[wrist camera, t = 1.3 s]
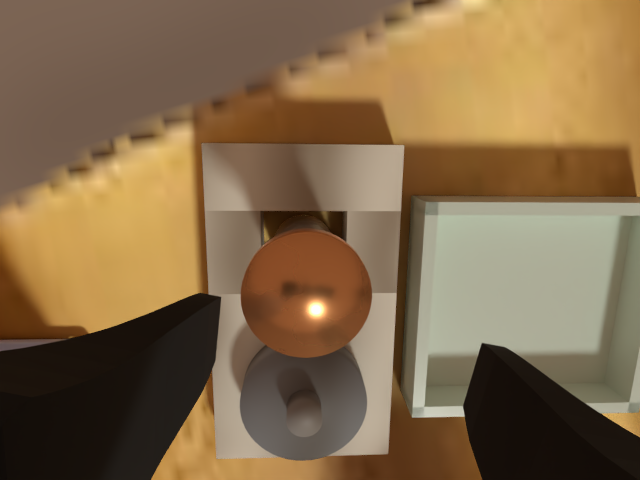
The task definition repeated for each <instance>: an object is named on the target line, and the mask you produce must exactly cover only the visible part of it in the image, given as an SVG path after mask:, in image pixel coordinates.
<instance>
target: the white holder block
mask: <svg viewBox="0 0 640 480" xmlns="http://www.w3.org/2000/svg"><path fill="white" fill-rule="evenodd" d="M403 161H404V145H349V144H261V143H202V164H203V185H204V206H205V228H206V249H207V270H208V291H209V295H214V296H220V297H221V307H220V318H219V329H218V340H217V350H216V361H215V363H214V366H213V368H212V376H213V397H214V418H215V439H216V459H234V458H270V457H282V458H285V459H290V460H313V459H318V458H322V457H325V456H341V455H376V454H388V448H389V429H390V410H391V391H392V372H393V352H394V333H395V314H396V295H397V276H398V257H399V238H400V218H401V199H402V180H403ZM264 211H343V219H342V239H343V240H344V241H346V242H347V243H348V244H349V245H350V246H351V247H352V248H353V249H354V250H355V251H356V252H357V254H358V255H359V257H360V258H361V260H362V262H363V264H364V265H365V268H366V270H367V272H368V274H369V278H370V281H371V287H372V303H371V308H370V312H369V315H368V317H367V320H366V322H365V324H364V325H363V327H362V329H361V330H360V331H359V333H358V334H357V335H356V336H355V337H354V338H353V339H352V340H351V341H350V342H349V343H347V344H346V345H345V346H343V347H342V348H340V349H338V350H336V351H334V352H332V353H329V354H326V355H323V356H318V357H310V358H300V357H293V356H288V355H285V354H282V353H279V352H277V351H275V350H273V349H271V348H270V347H268V346H267V345H265V344H264V343H263V342H261V341H260V340H259V339H258V338H257V337H256V336H255V334H254V333H253V332H252V330H251V329H250V327H249V326H248V324H247V322H246V320H245V317H244V315H243V311H242V307H241V298H240V297H241V286H242V281H243V278H244V275H245V272H246V270H247V267H248V265H249V263H250V261H251V259H252V258H253V256H254V255H255V253H256V252H257V251H258V250H259V248H260V247H261V246H262V245H264Z"/></svg>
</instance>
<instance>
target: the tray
mask: <svg viewBox="0 0 640 480" xmlns="http://www.w3.org/2000/svg"><path fill="white" fill-rule="evenodd" d="M482 343H486V344H491V345H497V346H503V347H506V348H508V349H509V350H511V351H513V352H514V353H516V354H517V355H519V356H520V357H522V358H523V359H524V360H526V361H527V362H529V363H530V364H531V365H533V366H534V367H536V368H537V369H538V370H540V371H541V372H542V373H544V374H545V375H546V376H548V377H549V378H550V379H552V380H553V381H555V382H556V383H557V384H559V385H560V386H561V387H563V388H564V389H566V390H567V391H568V392H570V393H571V394H573V395H574V396H575V397H577V398H578V399H580V400H581V401H582V402H584V403H585V404H587V405H588V406H590V407H591V408H593V409H594V410H596V411H597V412H599V413H635V412H639V408H640V197H603V196H411V214H410V231H409V249H408V266H407V284H406V301H405V319H404V336H403V354H402V371H401V389H400V391H401V393H402V395H403V398H404V400H405V402H406V405H407V407H408V410H409V412H410V414H411V417H412V418H422V417H465V415H464V410H463V404H464V401H465V397H466V394H467V391H468V387H469V384H470V381H471V377H472V374H473V371H474V367H475V364H476V360H477V357H478V354H479V350H480V347H481V344H482Z"/></svg>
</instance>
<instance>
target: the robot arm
mask: <svg viewBox="0 0 640 480" xmlns="http://www.w3.org/2000/svg"><path fill="white" fill-rule="evenodd" d="M220 307H221V297H220V296H214V295H208V294H203V293H198V294H195V295H192V296H189V297H187V298H185V299H182V300H180V301H177V302H175V303H173V304H170V305H168V306H166V307H163V308H161V309H158V310H156V311H154V312H151V313H149V314H146V315H144V316H141V317H138V318H136V319H133V320H130V321H127V322H125V323H122V324H119V325H117V326H114V327H111V328H107V329H104V330H101V331H98V332H94V333H90V334H87V335H83V336H79V337H75V338H71V339H25V340H0V480H151V478H152V476H153V474H154V472H155V471H156V469H157V467H158V465H159V463H160V462H161V460H162V458H163V456H164V455H165V453H166V451H167V450H168V448H169V446H170V445H171V443H172V441H173V440H174V438H175V436H176V435H177V433H178V432H179V430H180V428H181V427H182V425H183V423H184V422H185V420H186V418H187V417H188V415H189V413H190V412H191V410H192V408H193V407H194V405H195V403H196V402H197V400H198V398H199V397H200V395H201V393H202V391H203V389H204V387H205V385H206V382H207V380H208V378H209V376H210V373H211V371H212V368H213V366H214V363H215V361H216V350H217V340H218V329H219V318H220ZM463 410H464V415H465V421H466V427H467V431H468V436H469V441H470V444H471V447H472V450H473V453H474V456H475V459H476V462H477V465H478V468H479V471H480V474H481V477H482V479H483V480H640V437H638V436H636V435H635V434H633V433H631V432H629V431H628V430H626V429H624V428H623V427H621V426H619V425H618V424H616V423H614V422H613V421H611V420H610V419H608V418H606V417H605V416H603V415H602V414H600V413H599V412H597V411H596V410H594V409H593V408H591V407H590V406H588V405H587V404H585V403H584V402H582V401H581V400H580V399H578V398H577V397H575V396H574V395H573V394H571V393H570V392H568V391H567V390H566V389H564V388H563V387H561V386H560V385H559V384H557V383H556V382H555V381H553V380H552V379H550V378H549V377H548V376H546V375H545V374H544V373H542V372H541V371H540V370H538V369H537V368H536V367H534V366H533V365H531V364H530V363H529V362H527V361H526V360H524V359H523V358H522V357H520V356H519V355H517V354H516V353H514V352H513V351H511V350H509V349H508V348H506V347H503V346H497V345H491V344H486V343H482V344H481V347H480V350H479V354H478V357H477V360H476V364H475V367H474V371H473V374H472V377H471V381H470V384H469V387H468V391H467V394H466V397H465V401H464V404H463Z"/></svg>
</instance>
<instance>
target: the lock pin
mask: <svg viewBox="0 0 640 480" xmlns="http://www.w3.org/2000/svg"><path fill="white" fill-rule="evenodd" d="M240 298H241V307H242V311H243V315H244V317H245V320H246V322H247V324H248V326H249V327H250V329H251V330H252V332H253V333H254V334H255V336H256V337H257V338H258V339H259V340H260V341H261V342H263V343H264V344H265V345H267V346H268V347H270V348H271V349H273V350H275V351H277V352H279V353H282V354H285V355H288V356H293V357H300V358H310V357H318V356H323V355H326V354H329V353H332V352H334V351H336V350H338V349H340V348H342V347H343V346H345V345H346V344H347V343H349V342H350V341H351V340H352V339H353V338H354V337H355V336H356V335H357V334H358V333H359V331H360V330H361V329H362V327H363V325H364V324H365V322H366V320H367V317H368V315H369V312H370V308H371V303H372V287H371V281H370V278H369V274H368V272H367V270H366V268H365V265H364V264H363V262H362V260H361V258H360V257H359V255H358V254H357V252H356V251H355V250H354V249H353V248H352V247H351V246H350V245H349V244H348V243H347V242H346V241H344V240H343V239H341V238H340V237H338V236H336V235H334V234H332V233H330V231H329V229H328V228H327V226H326V225H325V224H324V223H323V222H322V221H321V220H319V219H318V218H316V217H313V216H310V215H296V216H293V217H291V218H289V219H287V220H286V221H284V222H283V223H282V224H281V225H280V227H279V228H278V230H277V232H276V234H275V237H273V238H272V239H270V240H269V241H267V242H266V243H265V244H264V245H262V246H261V247H260V248H259V250H258V251H257V252H256V253H255V255H254V256H253V258H252V259H251V261H250V263H249V265H248V267H247V270H246V272H245V275H244V278H243V281H242V286H241V297H240Z"/></svg>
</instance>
